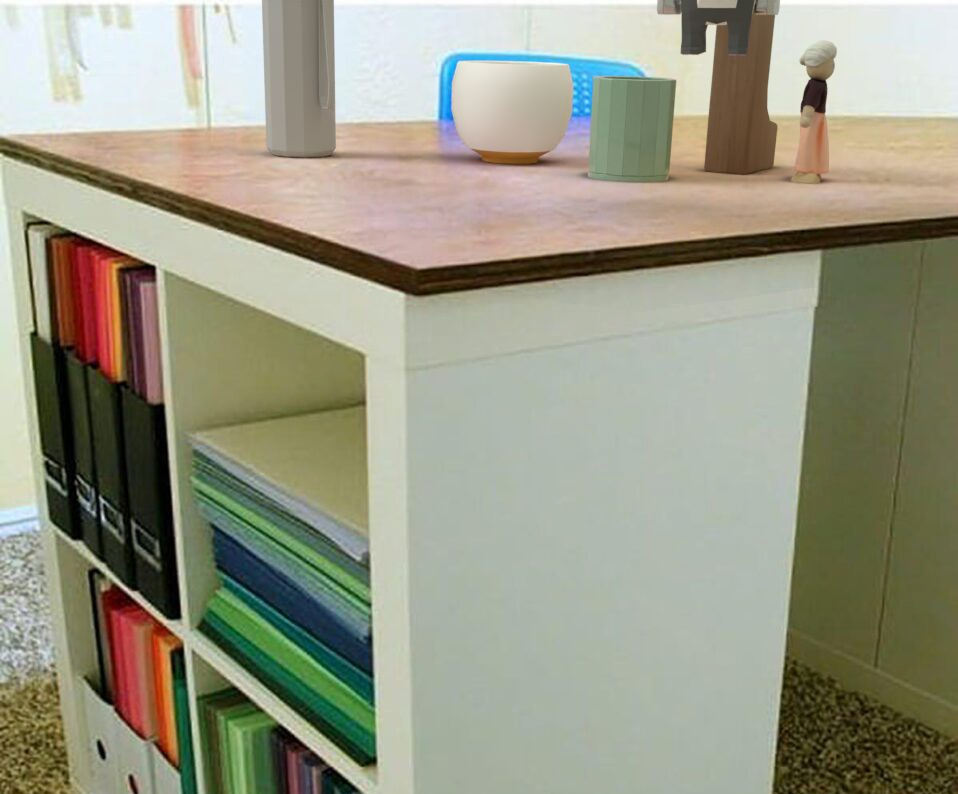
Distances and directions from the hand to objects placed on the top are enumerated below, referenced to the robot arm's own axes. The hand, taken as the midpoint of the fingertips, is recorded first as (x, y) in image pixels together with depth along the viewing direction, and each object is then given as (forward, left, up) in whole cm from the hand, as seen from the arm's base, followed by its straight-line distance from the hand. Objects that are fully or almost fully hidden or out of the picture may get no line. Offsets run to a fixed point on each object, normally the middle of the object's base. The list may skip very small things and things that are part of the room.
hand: (716, 14), depth 97 cm
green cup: (+12, -18, -15) cm, 26 cm away
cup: (+27, -24, -15) cm, 39 cm away
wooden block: (+5, -32, -15) cm, 36 cm away
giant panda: (0, 0, -3) cm, 3 cm away
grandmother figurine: (-3, -27, -15) cm, 31 cm away
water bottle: (+46, -15, -15) cm, 51 cm away
